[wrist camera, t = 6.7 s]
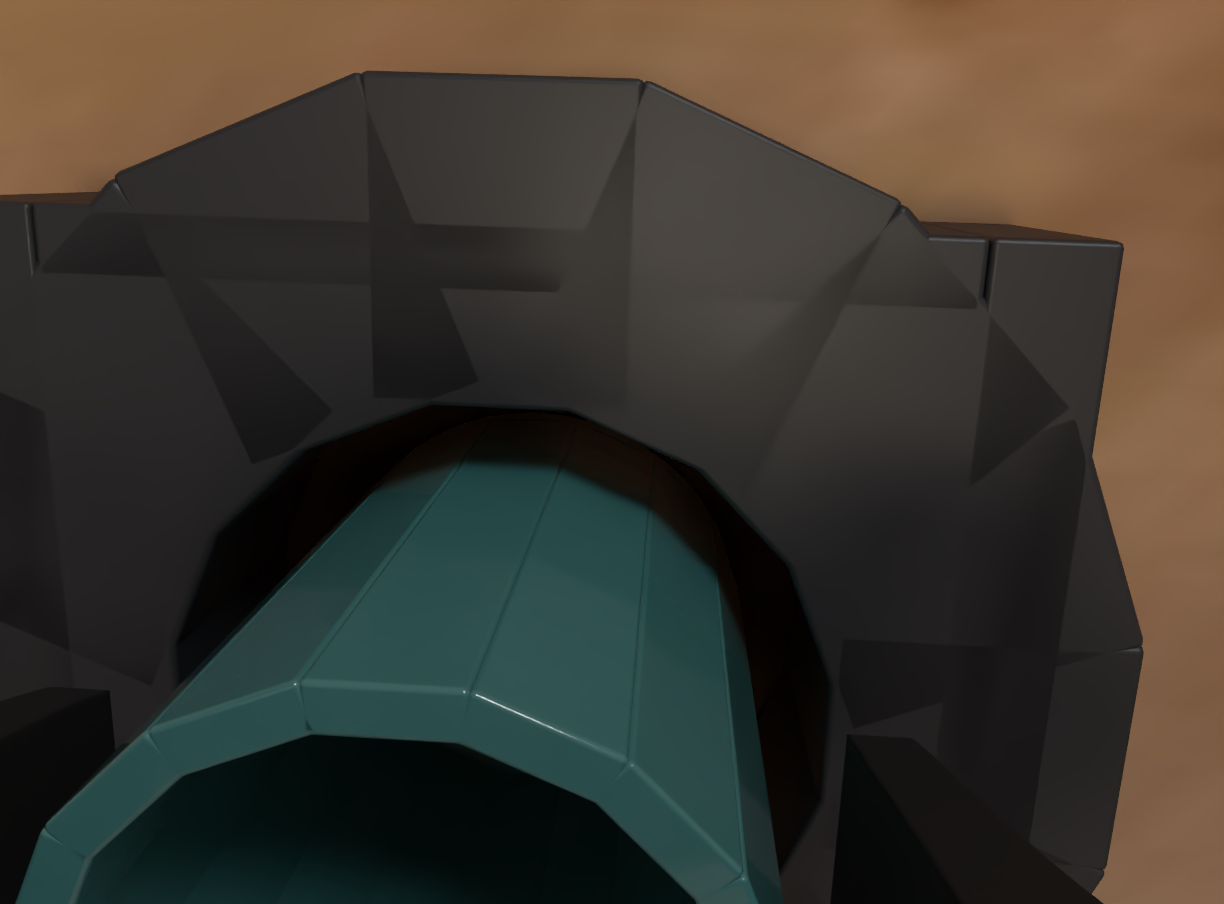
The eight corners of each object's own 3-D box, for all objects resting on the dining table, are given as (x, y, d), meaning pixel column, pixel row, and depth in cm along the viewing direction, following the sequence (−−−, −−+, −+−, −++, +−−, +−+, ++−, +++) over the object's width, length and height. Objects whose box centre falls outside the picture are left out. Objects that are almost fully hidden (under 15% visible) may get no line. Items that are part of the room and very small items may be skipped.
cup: (348, 766, 16) (43, 1319, 8) (337, 402, 15) (-45, 661, 7) (722, 789, 16) (765, 1383, 8) (747, 421, 14) (828, 710, 7)
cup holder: (111, 973, 17) (-28, 1167, 14) (18, 82, 14) (-196, 52, 10) (967, 1035, 17) (1041, 1255, 13) (1098, 116, 13) (1244, 95, 10)
